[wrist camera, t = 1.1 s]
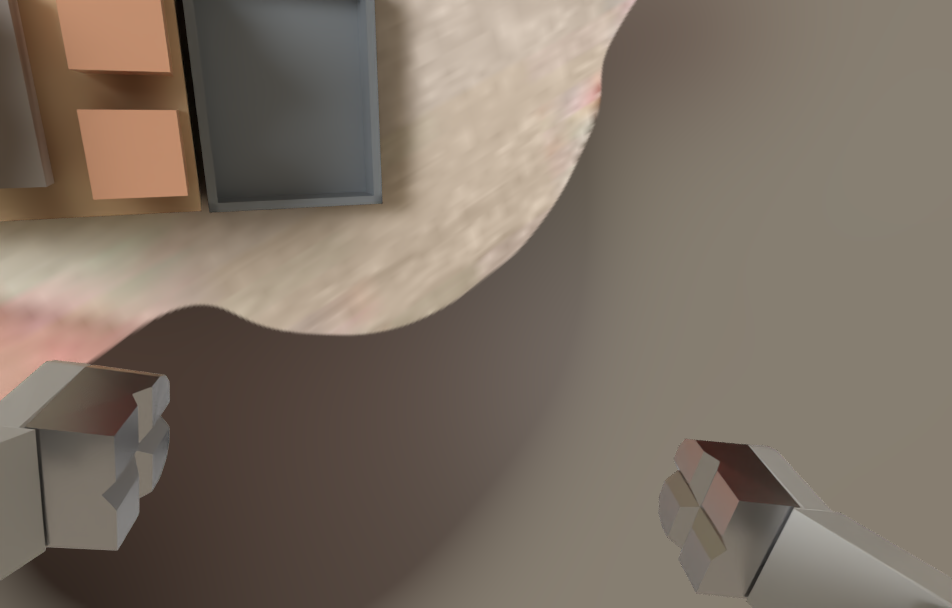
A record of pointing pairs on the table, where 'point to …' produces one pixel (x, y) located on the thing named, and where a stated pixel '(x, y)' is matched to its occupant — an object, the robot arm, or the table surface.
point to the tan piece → (60, 122)
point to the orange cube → (115, 36)
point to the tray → (286, 102)
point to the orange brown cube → (134, 153)
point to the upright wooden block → (19, 110)
